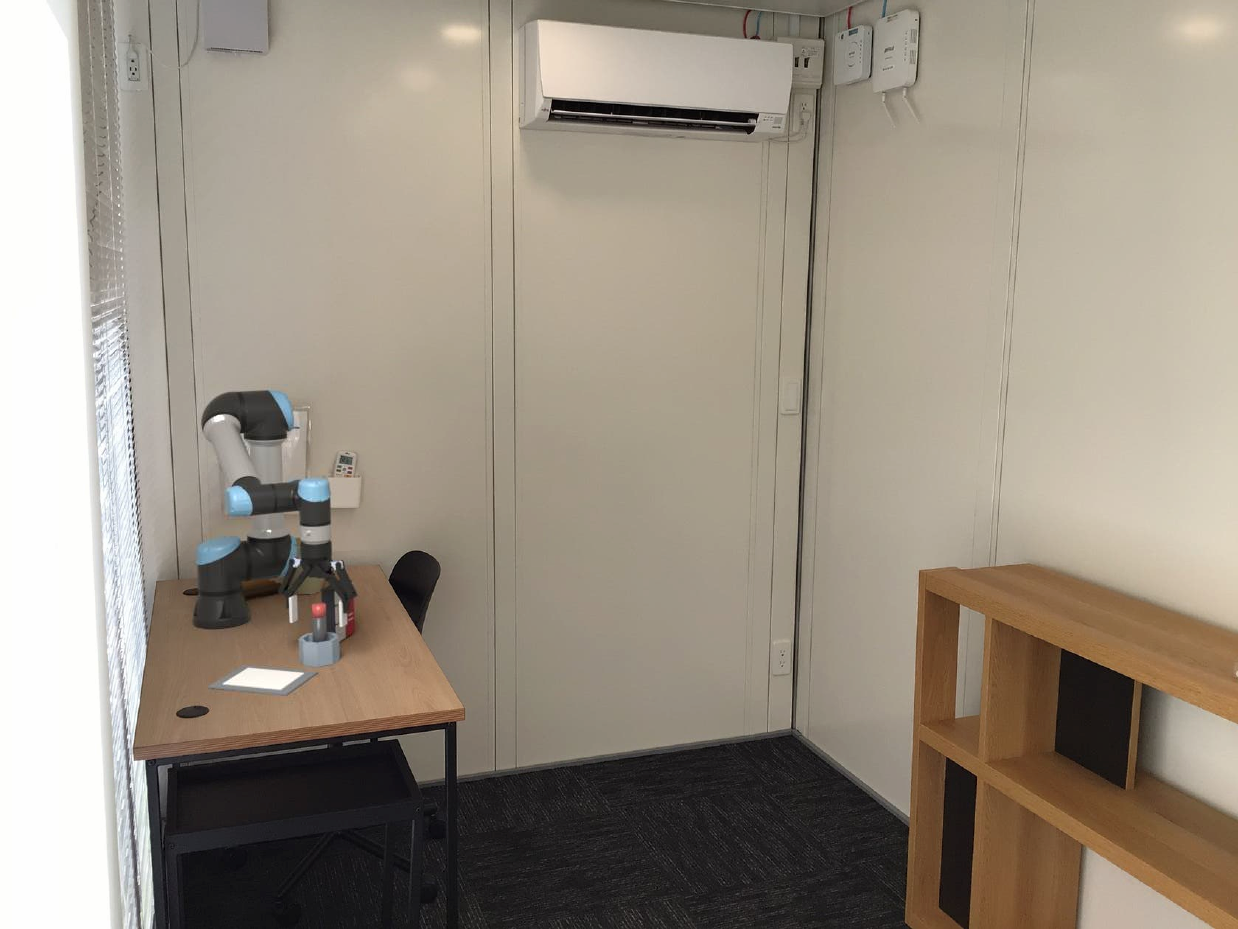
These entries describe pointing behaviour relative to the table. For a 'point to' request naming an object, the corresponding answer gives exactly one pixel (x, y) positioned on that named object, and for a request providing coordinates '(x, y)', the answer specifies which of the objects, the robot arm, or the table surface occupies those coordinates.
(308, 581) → the plant pot
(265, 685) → the writing pad
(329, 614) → the grey and red block
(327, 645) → the pen cup
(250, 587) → the pan flute
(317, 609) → the marker
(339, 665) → the table surface
